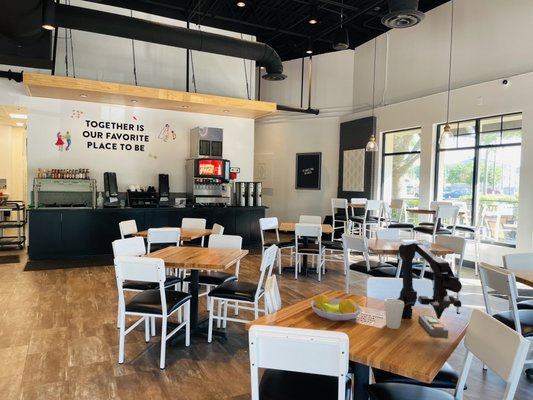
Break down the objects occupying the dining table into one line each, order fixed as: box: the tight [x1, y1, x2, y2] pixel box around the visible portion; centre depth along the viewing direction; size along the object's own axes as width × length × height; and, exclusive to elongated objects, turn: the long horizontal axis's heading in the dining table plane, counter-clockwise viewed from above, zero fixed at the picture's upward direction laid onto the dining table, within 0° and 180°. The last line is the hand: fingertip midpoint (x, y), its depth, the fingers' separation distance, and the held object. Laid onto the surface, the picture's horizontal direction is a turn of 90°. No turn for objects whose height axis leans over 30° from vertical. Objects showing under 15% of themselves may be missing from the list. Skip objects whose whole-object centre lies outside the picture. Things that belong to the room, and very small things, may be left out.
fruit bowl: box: [311, 294, 362, 322], centre depth 203 cm, size 28×27×11 cm
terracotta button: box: [432, 324, 443, 330], centre depth 186 cm, size 4×4×2 cm
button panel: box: [418, 314, 449, 337], centre depth 193 cm, size 8×20×3 cm, turn 174°
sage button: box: [428, 319, 438, 324], centre depth 193 cm, size 4×4×2 cm
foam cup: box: [383, 297, 404, 330], centre depth 193 cm, size 10×9×13 cm
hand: (438, 318), depth 186 cm, fingers closed
